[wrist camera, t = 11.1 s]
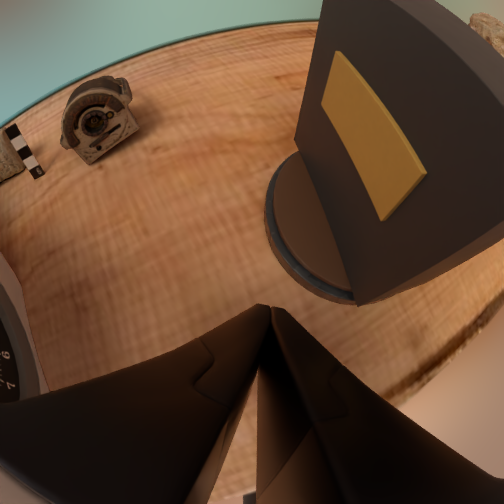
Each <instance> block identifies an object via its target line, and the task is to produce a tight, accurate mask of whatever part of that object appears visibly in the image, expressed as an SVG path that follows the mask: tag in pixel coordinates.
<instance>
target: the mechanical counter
mask: <svg viewBox="0 0 504 504" xmlns="http://www.w3.org/2000/svg"><path fill="white" fill-rule="evenodd" d="M119 85H123V87H122V88H121V87H120V86H119ZM131 101H132V94H131V90H130V87H129V84H128V82H127V80H126V79H125V78H116V79H114V78H113V77H112V76H102V77H100V78H97V79H93V80H90V81H87V82H85V83H83V84H81V85H80V86H79V87H78V88H76V89H75V90H74V92H73V93H72V94H71V96H70V98H69V100H68V103H67V105H66V108H65V110H64V113H63V117H62V121H61V130H62V135H61V139H60V144H61V145H62V147H63V148H65V149H70V148H72V149H74V150H75V151H76V153H77V154H78V155H79V156H80V157H81V158H82V159H83V160H84V161H85V162H86V163H87V164H89V165H90V164H91V163H92V162H94V161H95V160H96V159H97V158H99V157H100V156H101V155H103V154H104V153H105V152H107V151H108V150H109V149H111V148H112V147H114V146H115V145H116V144H118V143H119V142H121V141H122V140H124V139H125V138H127V137H128V136H129V135H131V134H132V133H134V132H135V131H137V130H138V129H139V127H140V126H139V124H138V123H137V121H136V119H135V117H134V116H133V114H132V113H131V111H130V109H129V108H128V104H129V103H130V102H131Z"/></svg>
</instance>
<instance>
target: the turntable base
mask: <svg viewBox="0 0 504 504" xmlns="http://www.w3.org/2000/svg"><path fill="white" fill-rule="evenodd" d="M297 152H298V151H297ZM295 153H296V152H295ZM295 153H294V154H295ZM294 154H292V155H291V156H290V157H288V158H287V159H286V160H285V161H284V162H283V163H282V164H281V165H280V166H279V167H278V169H277V170H276V172H275V173H274V175H273V177H272V179H271V181H270V183H269V187H268V190H267V195H266V202H265V209H264V222H265V228H266V233H267V237H268V240H269V243H270V246H271V248H272V250H273V252H274V254H275V256H276V257H277V259H278V261H279V262H280V264H281V265H282V266H283V268H284V269H285V270H286V271H287V273H288V274H289V275H290V276H291V277H292V278H293V279H294V280H295V281H296V282H297V283H299V284H300V285H301V286H303V287H304V288H305V289H307V290H308V291H310V292H312V293H313V294H315V295H317V296H319V297H321V298H324V299H326V300H329V301H332V302H336V303H339V304H345V305H356V302H355V298H354V295H353V292H350V291H345V290H342V289H339V288H336V287H333V286H331V285H329V284H327V283H325V282H323V281H322V280H320V279H319V278H317V277H315V276H314V275H312V274H311V273H310V272H309V271H308V270H306V269H305V268H304V267H303V266H302V265H301V264H300V263H299V262H298V261H297V260H296V259H295V258H294V256H293V255H292V254H291V252H290V251H289V250H288V248H287V247H286V245H285V243H284V241H283V240H282V238H281V236H280V233H279V231H278V228H277V226H276V222H275V217H274V211H273V193H274V188H275V184H276V180H277V178H278V175H279V173H280V171H281V169H282V168H283V166H284V164H285V163H286V162H287V161H288V160H289V159H290V158H291V157H292V156H293V155H294ZM394 295H395V294H394ZM392 296H393V295H392ZM389 297H391V296H389ZM389 297H386V298H383V299H380V300H377V301H374V302H371V303H368V304H373V303H376V302H379V301H382V300H385V299H387V298H389ZM365 305H367V304H365Z"/></svg>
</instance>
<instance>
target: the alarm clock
mask: <svg viewBox="0 0 504 504" xmlns="http://www.w3.org/2000/svg"><path fill="white" fill-rule="evenodd" d="M48 392H50V391H49V388H48V386H47V383H46V380H45V377H44V374H43V371H42V368H41V365H40V362H39V359H38V355H37V352H36V349H35V345H34V341H33V338H32V334H31V330H30V326H29V321H28V317H27V312H26V307H25V302H24V297H23V291H22V287H21V285H20V283H19V281H18V279H17V277H16V275H15V273H14V272H13V270H12V269H11V267H10V266H9V264H8V263H7V261H6V260H5V258H4V257H3V255H2V253H1V252H0V403H9V402H14V401H18V400H22V399H26V398H30V397H34V396H37V395H41V394H44V393H48Z"/></svg>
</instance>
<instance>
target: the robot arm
mask: <svg viewBox="0 0 504 504" xmlns="http://www.w3.org/2000/svg"><path fill="white" fill-rule="evenodd" d="M257 370H258V396H257V478H256V499H257V500H256V504H504V479H500V478H496V477H493V476H492V475H490V474H488V473H487V472H485V471H484V470H482V469H480V468H479V467H478V466H476V465H475V464H473V463H472V462H470V461H469V460H467V459H466V458H464V457H463V456H462V455H460V454H459V453H457V452H456V451H454V450H453V449H451V448H450V447H449V446H447V445H446V444H444V443H443V442H442V441H440V440H439V439H437V438H436V437H435V436H433V435H432V434H430V433H429V432H428V431H426V430H425V429H423V428H422V427H421V426H419V425H418V424H417V423H415V422H414V421H412V420H411V419H410V418H408V417H407V416H406V415H404V414H403V413H402V412H400V411H399V410H398V409H396V408H395V407H394V406H392V405H391V404H390V403H388V402H387V401H386V400H384V399H383V398H382V397H380V396H379V395H378V394H377V393H375V392H374V391H373V390H371V389H370V388H369V387H368V386H366V385H365V384H364V383H363V382H362V381H361V380H360V379H358V378H357V377H356V376H355V375H354V374H353V373H352V372H351V371H350V370H348V369H347V368H346V367H345V366H344V365H343V366H342V364H341V363H340V362H339V361H338V360H337V359H336V358H335V357H334V356H333V355H332V354H331V353H330V352H329V351H328V350H327V349H326V348H325V347H323V346H322V345H321V344H320V343H319V342H318V341H317V340H316V339H315V338H314V337H313V336H312V335H311V334H310V333H309V332H308V331H307V330H306V329H305V328H304V327H303V326H302V325H301V324H300V323H298V322H297V321H296V320H295V319H294V318H293V317H292V316H291V315H290V314H289V313H288V312H287V311H286V310H285V309H283V308H278V307H271V308H270V306H268V305H264V304H255V305H254V306H252V307H250V308H249V309H247V310H245V311H244V312H242V313H240V314H238V315H237V316H235V317H233V318H232V319H230V320H228V321H226V322H225V323H223V324H221V325H219V326H218V327H216V328H214V329H212V330H211V331H209V332H207V333H205V334H204V335H202V336H200V337H198V338H195V339H194V340H192V341H190V342H188V343H186V344H184V345H182V346H180V347H178V348H176V349H174V350H172V351H169V352H167V353H165V354H162V355H160V356H157V357H154V358H152V359H149V360H146V361H144V362H141V363H138V364H135V365H132V366H130V367H127V368H124V369H121V370H118V371H115V372H112V373H109V374H106V375H103V376H100V377H97V378H94V379H91V380H88V381H85V382H81V383H78V384H75V385H72V386H68V387H65V388H62V389H58V390H55V391H51V392H48V393H44V394H41V395H37V396H34V397H30V398H26V399H22V400H18V401H14V402H9V403H0V504H207V502H208V499H209V497H210V495H211V491H212V490H213V487H214V485H215V483H216V480H217V478H218V475H219V473H220V470H221V468H222V465H223V463H224V460H225V458H226V455H227V453H228V450H229V447H230V445H231V442H232V440H233V437H234V434H235V432H236V429H237V426H238V424H239V421H240V418H241V416H242V413H243V410H244V408H245V405H246V402H247V399H248V397H249V394H250V391H251V388H252V385H253V383H254V380H255V377H256V374H257Z"/></svg>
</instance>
